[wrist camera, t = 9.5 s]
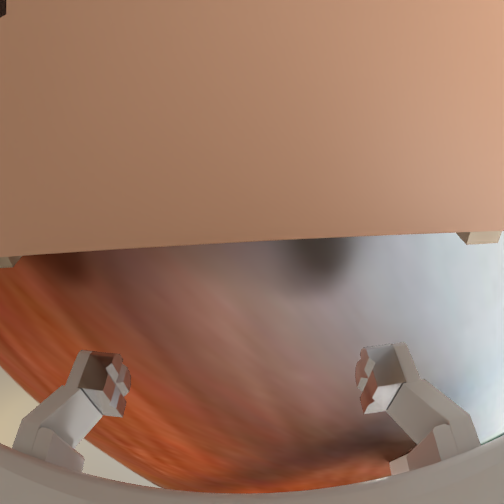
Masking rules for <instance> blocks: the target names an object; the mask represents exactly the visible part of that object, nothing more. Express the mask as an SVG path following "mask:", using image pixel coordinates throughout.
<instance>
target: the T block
mask: <svg viewBox="0 0 504 504" xmlns="http://www.w3.org/2000/svg"><path fill="white" fill-rule="evenodd" d="M483 231H504V0H6V15H4V16H2V17H1V18H0V257H11V256H25V255H39V254H54V253H68V252H83V251H98V250H114V249H130V248H146V247H163V246H180V245H197V244H215V243H233V242H252V241H271V240H291V239H312V238H333V237H355V236H378V235H402V234H427V233H454V232H483Z"/></svg>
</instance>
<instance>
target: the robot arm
mask: <svg viewBox="0 0 504 504" xmlns="http://www.w3.org/2000/svg"><path fill="white" fill-rule="evenodd" d="M360 356H361V360H359V361H358V362H357V365H356V369H355V378H356V384H357V388H359V389H360V390H361V391H362V395H361V397H360V401H361V405H362V409H363V413H364V414H368V413H375V412H382V411H386V412H387V413H388V414H389V415H390V417H391V418H392V419H393V420H394V421H395V422H396V423H397V424H398V425H399V426H400V427H401V428H402V429H403V430H404V431H405V432H406V433H407V434H408V436H409V437H410V438H411V439H412V440H413V441H414V442H415V443H416V444H417V446H416V447H415V448H414V449H413V450H412V451H411V452H410V453H409V454H408V455H407V457H406V458H407V463H408V467H409V471H407V472H404V473H400V474H396V475H392V476H388V477H384V478H380V479H375V480H370V481H366V482H361V483H355V484H350V485H344V486H337V487H331V488H323V489H315V490H306V491H295V492H281V493H259V494H226V493H204V492H190V491H179V490H170V489H162V488H155V487H148V486H141V485H136V484H130V483H125V482H120V481H115V480H110V479H106V478H102V477H97V476H93V475H89V474H86V473H82V468H83V464H84V458H83V456H82V455H81V454H80V453H78V452H77V451H76V450H75V449H74V448H75V447H76V446H77V445H78V444H79V442H80V441H81V440H82V439H83V438H84V437H85V436H86V435H87V433H88V432H89V431H90V430H91V429H92V428H93V427H94V425H95V424H96V423H97V422H98V421H99V420H100V419H101V417H102V415H107V416H115V417H123V415H124V410H125V406H126V400H125V398H124V396H125V395H126V394H127V393H128V392H129V390H130V386H131V375H130V371H129V370H128V368H127V367H126V366H125V365H123V364H122V362H123V358H122V357H121V355H120V354H116V353H106V352H97V351H88V350H81V351H80V352H79V353H78V355H77V357H76V360H75V362H74V365H73V367H72V370H71V372H70V375H69V377H68V380H67V382H66V385H65V386H63V385H62V386H61V387H60V388H58V389H57V390H56V391H55V392H54V393H52V394H51V395H50V396H49V397H48V398H47V399H45V400H44V401H43V402H42V403H41V404H40V405H38V406H37V407H36V408H35V409H34V410H33V411H31V412H30V413H29V414H28V415H27V416H26V417H24V418H23V419H22V421H21V424H20V427H19V429H18V432H17V435H16V438H15V441H14V444H13V447H12V448H10V447H7V446H5V445H3V444H1V443H0V504H504V435H503V436H501V437H499V438H497V439H495V440H493V441H490V442H488V443H486V444H484V445H480V442H479V439H478V436H477V433H476V430H475V427H474V425H473V422H472V419H471V417H470V414H468V413H467V412H466V411H464V410H463V409H462V408H461V407H459V406H458V405H457V404H456V403H454V402H453V401H452V400H451V399H449V398H448V397H447V396H445V395H444V394H443V393H442V392H440V391H439V390H438V389H437V388H435V387H434V386H433V385H431V384H430V383H429V382H428V381H426V380H425V379H422V380H421V379H420V376H419V374H418V371H417V369H416V366H415V364H414V361H413V359H412V356H411V354H410V351H409V349H408V347H407V344H406V343H405V342H400V343H394V344H385V345H378V346H371V347H364V348H363V349H362V350H361V353H360Z"/></svg>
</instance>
